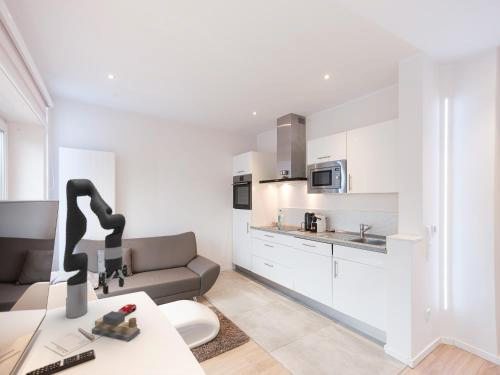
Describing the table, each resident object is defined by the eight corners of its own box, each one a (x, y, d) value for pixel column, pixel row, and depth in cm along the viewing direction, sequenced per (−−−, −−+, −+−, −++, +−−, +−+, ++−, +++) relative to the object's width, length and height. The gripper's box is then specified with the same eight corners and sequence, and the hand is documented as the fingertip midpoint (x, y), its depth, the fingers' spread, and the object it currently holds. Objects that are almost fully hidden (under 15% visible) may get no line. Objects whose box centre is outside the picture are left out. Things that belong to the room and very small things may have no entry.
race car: (118, 321, 127) (118, 313, 127) (110, 319, 129) (110, 312, 129) (138, 309, 139) (138, 302, 139) (130, 308, 141) (130, 301, 141)
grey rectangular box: (103, 323, 115) (102, 316, 115) (112, 318, 120) (112, 311, 120) (116, 326, 112) (116, 318, 112) (124, 320, 117) (124, 313, 117)
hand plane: (91, 333, 116) (91, 316, 116) (104, 325, 122) (104, 309, 123) (129, 341, 109) (129, 323, 109) (140, 333, 115) (140, 316, 115)
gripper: (119, 252, 124) (119, 284, 124) (93, 259, 111) (94, 295, 111) (131, 253, 122) (131, 285, 122) (106, 260, 109) (106, 297, 108)
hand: (113, 290), depth 116 cm, fingers open, 8 cm apart
